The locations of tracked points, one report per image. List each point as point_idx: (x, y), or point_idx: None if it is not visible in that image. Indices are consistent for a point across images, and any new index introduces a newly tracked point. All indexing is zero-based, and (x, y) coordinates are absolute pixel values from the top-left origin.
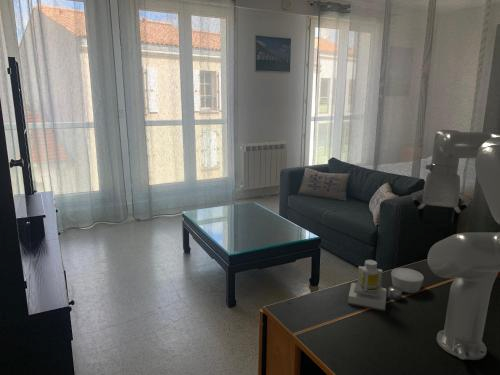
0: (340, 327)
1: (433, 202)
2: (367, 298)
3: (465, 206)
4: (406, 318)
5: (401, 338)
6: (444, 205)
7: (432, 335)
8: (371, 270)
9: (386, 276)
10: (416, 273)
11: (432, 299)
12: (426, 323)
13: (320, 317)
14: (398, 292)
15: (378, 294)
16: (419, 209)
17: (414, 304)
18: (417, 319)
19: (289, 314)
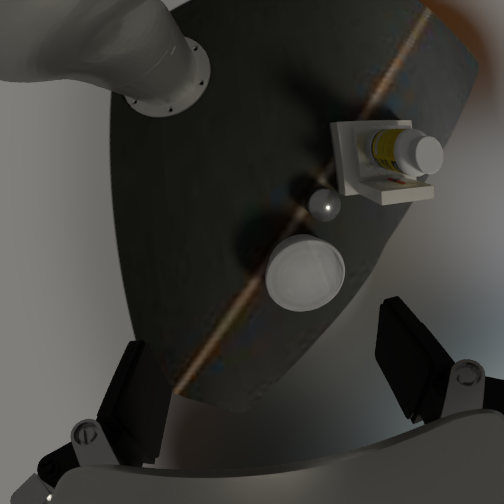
0: (385, 35)
1: (404, 479)
2: (376, 124)
3: (42, 468)
4: (280, 114)
5: (276, 39)
6: (206, 485)
7: (219, 78)
8: (414, 135)
9: (344, 288)
10: (285, 295)
11: (236, 234)
12: (236, 116)
13: (422, 57)
14: (316, 192)
15: (360, 127)
16: (451, 365)
17: (271, 187)
18: (256, 122)
19: (458, 56)
